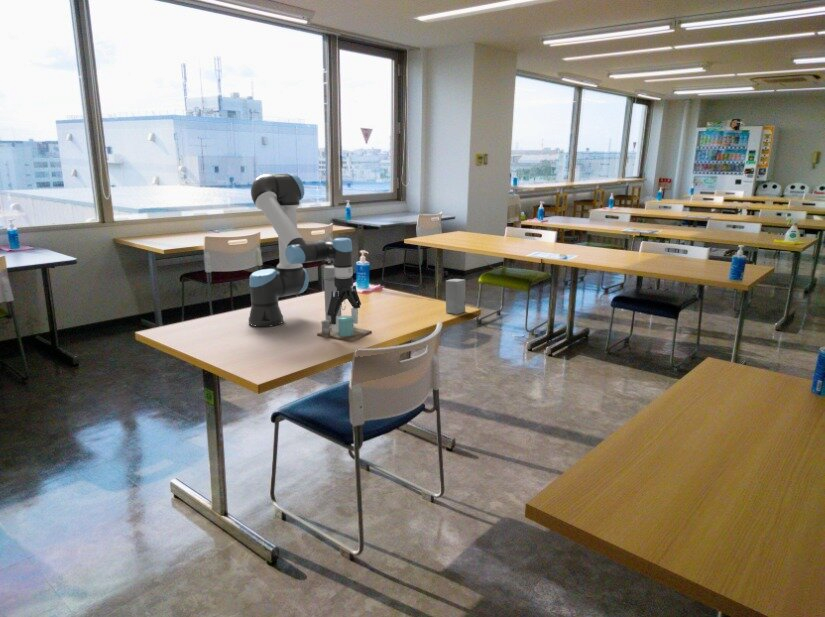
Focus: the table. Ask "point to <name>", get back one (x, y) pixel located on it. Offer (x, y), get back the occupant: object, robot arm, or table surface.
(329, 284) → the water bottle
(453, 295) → the skincare box
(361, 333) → the stud board
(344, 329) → the cap
